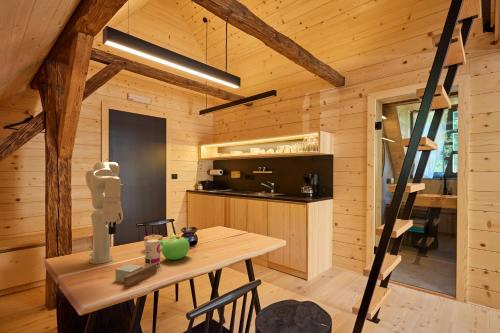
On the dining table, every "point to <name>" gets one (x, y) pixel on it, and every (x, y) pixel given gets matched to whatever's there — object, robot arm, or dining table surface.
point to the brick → (125, 271)
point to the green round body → (175, 247)
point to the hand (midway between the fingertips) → (112, 233)
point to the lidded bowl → (153, 238)
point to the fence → (139, 275)
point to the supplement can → (152, 252)
